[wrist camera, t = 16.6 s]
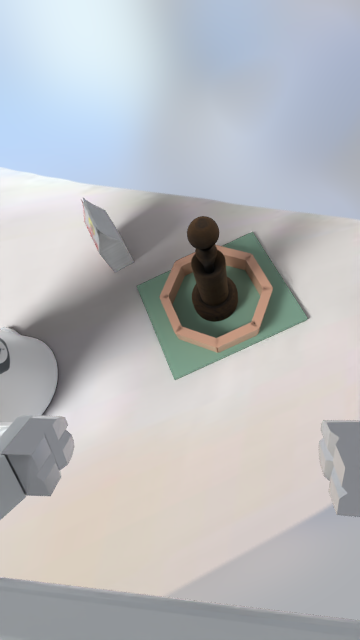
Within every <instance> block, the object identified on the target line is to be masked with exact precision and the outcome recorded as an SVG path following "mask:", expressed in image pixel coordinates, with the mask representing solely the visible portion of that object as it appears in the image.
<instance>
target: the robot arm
mask: <svg viewBox="0 0 360 640" xmlns="http://www.w3.org/2000/svg"><path fill="white" fill-rule="evenodd" d="M57 379H58V368H57V362H56V359H55V356H54V354H53V352H52V351H51V349H50V348H49V347H48V346H47V345H46V344H45V343H44V342H42V341H41V340H39V339H36V338H33V337H27V336H22V335H20V334H19V333H17V332H16V331H15V330H13V329H11V328H7V327H3V328H1V329H0V520H1V519H2V518H3V517H4V516H5V515H6V514H7V513H9V512H10V511H11V510H12V509H13V508H14V507H15V506H16V505H17V504H19V503H20V502H21V501H22V500H23V499H24V498H25V497H26V496H25V495H31V496H51V494H52V493H53V491H54V489H55V487H56V485H57V483H58V482H59V480H60V478H61V472H60V470H61V469H62V468H64V467H65V466H66V465H68V463H69V461H70V459H71V457H72V454H73V450H74V440H73V437H72V435H71V434H70V433H69V432H68V431H67V430H66V428H67V426H68V424H67V421H66V419H65V417H61V416H41V415H42V414H43V412H44V411H45V410H46V408H47V407H48V405H49V403H50V402H51V400H52V397H53V395H54V392H55V389H56V385H57ZM321 432H322V435H323V439H321V440H320V441H319V460H320V465H321V469H322V472H323V475H324V476H325V477H326V478H327V479H328V480H329V481H330V484H329V494H330V496H331V499H332V502H333V505H334V508H335V511H336V514H337V515H343V516H354V517H360V421H359V420H323V422H322V424H321ZM0 640H360V620H352V619H344V618H335V617H327V616H319V615H311V614H302V613H293V612H286V611H278V610H270V609H261V608H253V607H245V606H236V605H228V604H220V603H212V602H203V601H195V600H186V599H179V598H171V597H162V596H154V595H146V594H137V593H129V592H121V591H113V590H104V589H96V588H88V587H80V586H71V585H63V584H55V583H46V582H38V581H30V580H21V579H13V578H5V577H0Z"/></svg>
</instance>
